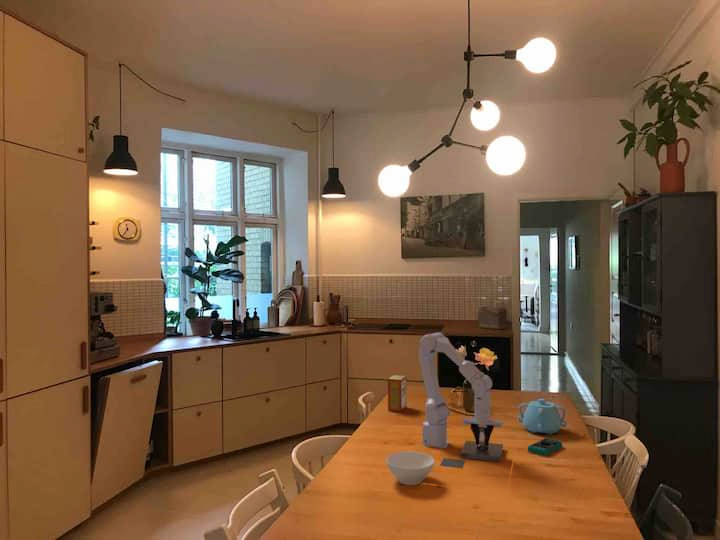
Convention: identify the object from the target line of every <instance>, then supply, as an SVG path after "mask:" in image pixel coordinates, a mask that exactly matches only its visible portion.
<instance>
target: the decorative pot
mask: <svg viewBox="0 0 720 540" xmlns="http://www.w3.org/2000/svg"><path fill="white" fill-rule="evenodd" d="M522 407H526V408H525V411H524V413H523V410H522ZM559 410H562V412H563V413H562V416H561V414H560V413H559ZM518 411H519V412H518V413H519V416H518V417H517V422H519V423H520V424H521V423H523V426H524V428H525V429H526V430H528V431H529V432H530V433H531V434H537V433H541V434H542V433H543V434H546V435H549V436H553V435H554V434H555V433H558V432H559V430H560V429H561V428H565V427H567V426H568V422H567V421H566V420H565V417H566V415H567V411H566V408H564V407H563V406H561V405H558V406H557V405H556V404H555V403H554V402H550V401H547V399H545V398H538V399H537V400H532V401H529V403H526V402H523V403H521V404H520V405H519V407H518ZM563 423H564V424H563Z"/></svg>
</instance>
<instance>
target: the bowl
mask: <svg viewBox="0 0 720 540" xmlns="http://www.w3.org/2000/svg"><path fill="white" fill-rule="evenodd" d="M385 463H386V466H387V468H388V470H389V471H390V473H391V474H392V475H393V476H394V477H395V478H396V479H397V481H398V482H399V483H400V484H402V485H405V486H416V485H417V486H418V485H420V484H421V483H422V482H423V480H424V479H425V478H426V477H427V476H428V475H429V474H430V473H431V471H432V470H433V469H434V465H435V459H434V457H432V456H431V455H429V454H427V453H424V452H419V451H410V450H409V451H399V452H398V451H397V452H395V453H391V454H388V456H387V457H386V458H385Z"/></svg>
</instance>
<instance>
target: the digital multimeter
mask: <svg viewBox="0 0 720 540" xmlns="http://www.w3.org/2000/svg"><path fill="white" fill-rule="evenodd" d="M562 448H563V443H562V441H560V440H557V439H554V438H549V437H548V438H547V437H544V438H543V439H541V440H539V441H536V442H535V443H533V444H530V445H528V446H527V451H528V452H529V453H531V454H535V455H537V454H538V456H542V457H547V456H549V455H550V454H552V453H554V452H556V451H558V450H560V449H562Z"/></svg>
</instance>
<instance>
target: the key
mask: <svg viewBox="0 0 720 540" xmlns="http://www.w3.org/2000/svg"><path fill="white" fill-rule="evenodd" d="M486 427H487V426H482V425H479V427H478V450H485V451H487V446H486V438H487V437H486Z"/></svg>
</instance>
